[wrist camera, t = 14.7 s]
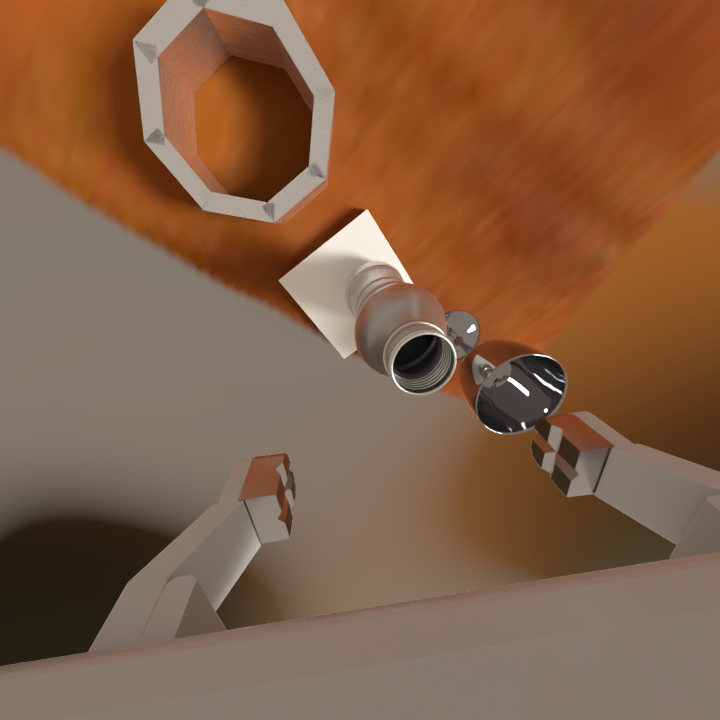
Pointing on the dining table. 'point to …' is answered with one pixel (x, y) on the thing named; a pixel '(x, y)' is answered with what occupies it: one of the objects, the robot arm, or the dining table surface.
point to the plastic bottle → (400, 329)
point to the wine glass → (504, 378)
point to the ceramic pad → (338, 278)
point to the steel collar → (198, 63)
